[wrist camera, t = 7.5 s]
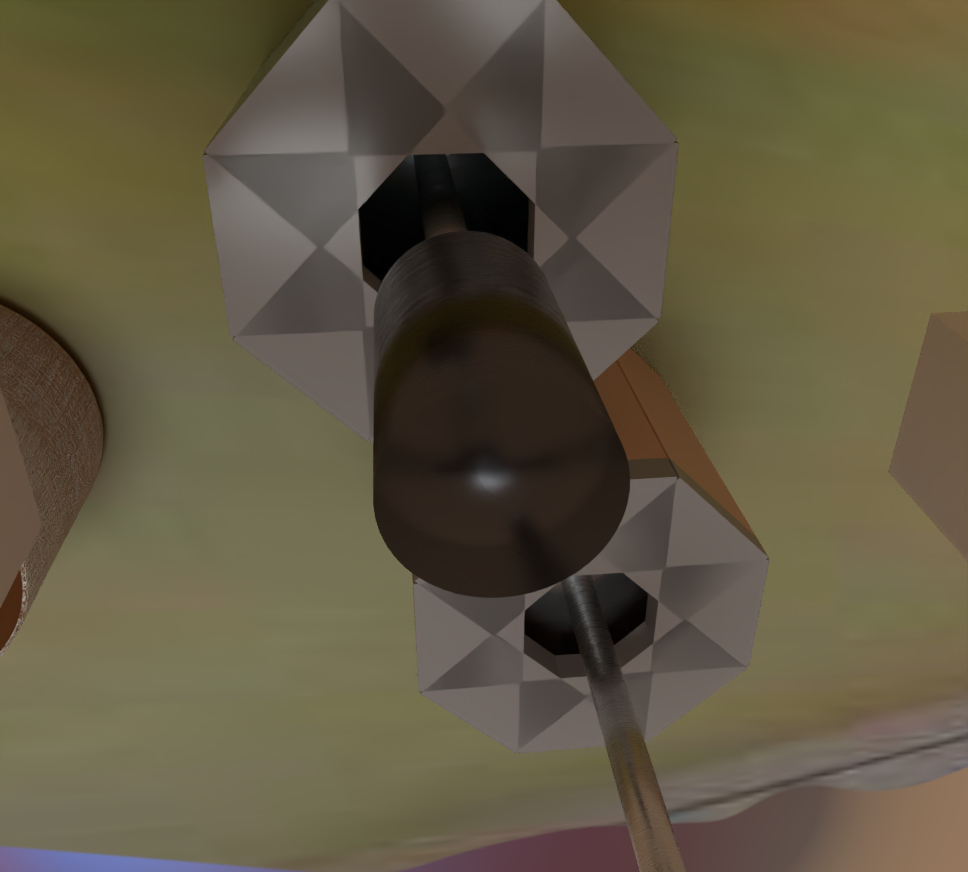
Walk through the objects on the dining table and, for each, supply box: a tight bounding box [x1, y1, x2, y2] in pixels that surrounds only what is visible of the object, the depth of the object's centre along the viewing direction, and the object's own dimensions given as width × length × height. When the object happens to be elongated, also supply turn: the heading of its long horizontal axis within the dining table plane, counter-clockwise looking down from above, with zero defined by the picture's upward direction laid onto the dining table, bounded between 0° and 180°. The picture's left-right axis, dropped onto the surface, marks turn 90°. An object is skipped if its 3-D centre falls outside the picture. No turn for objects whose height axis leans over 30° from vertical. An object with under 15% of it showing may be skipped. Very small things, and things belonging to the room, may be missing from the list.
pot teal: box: [203, 0, 679, 442], centre depth 26 cm, size 13×10×12 cm
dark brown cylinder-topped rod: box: [359, 153, 630, 598], centre depth 21 cm, size 8×8×20 cm
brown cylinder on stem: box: [524, 573, 687, 872], centre depth 21 cm, size 8×8×20 cm
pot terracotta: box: [412, 348, 769, 753], centre depth 33 cm, size 13×10×12 cm
